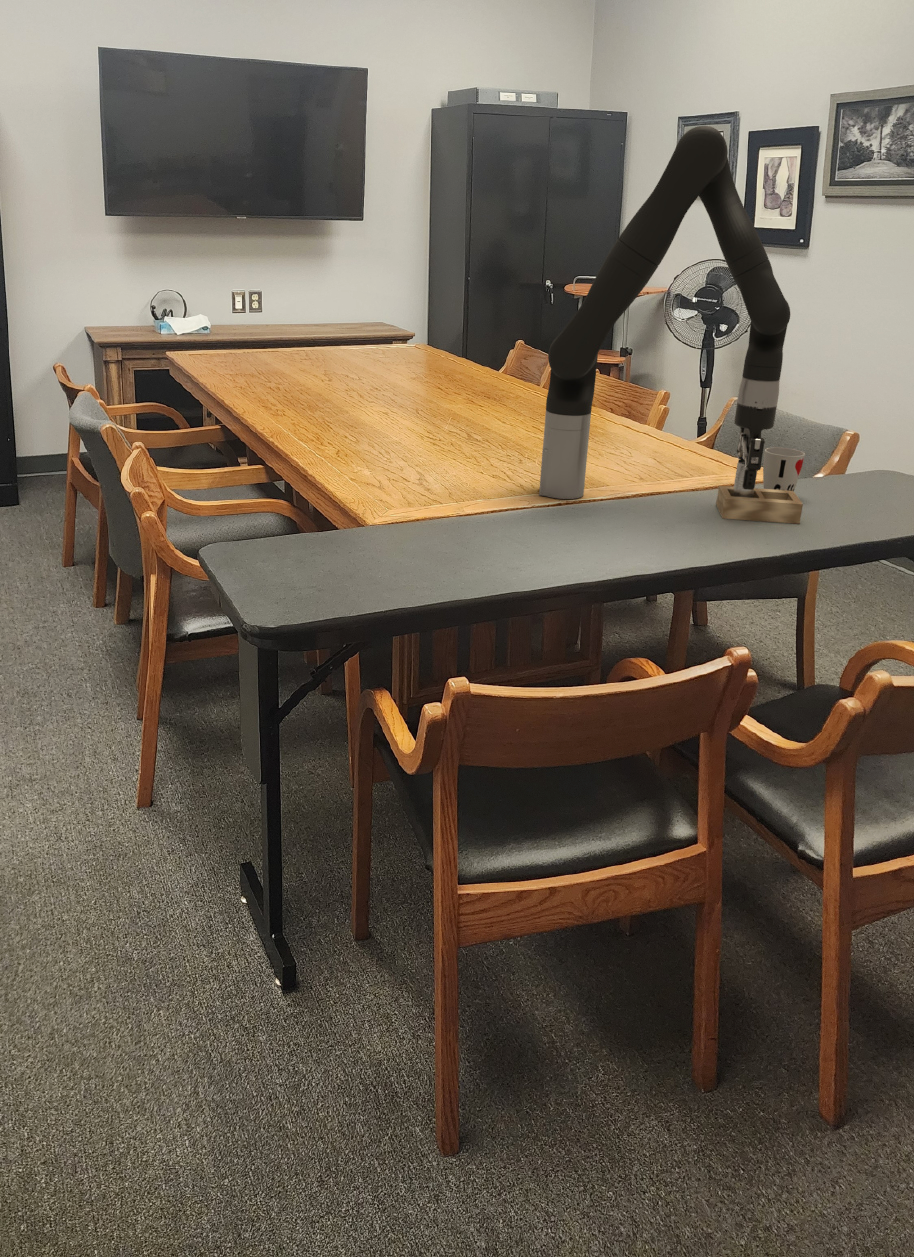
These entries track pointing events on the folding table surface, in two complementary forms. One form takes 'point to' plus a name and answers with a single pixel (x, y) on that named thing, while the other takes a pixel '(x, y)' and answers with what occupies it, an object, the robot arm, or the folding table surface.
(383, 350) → the folding table surface
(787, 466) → the cup
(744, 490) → the grey rounded cylinder
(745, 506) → the frame
